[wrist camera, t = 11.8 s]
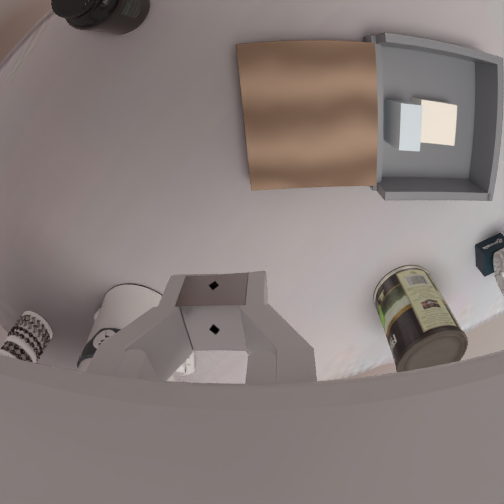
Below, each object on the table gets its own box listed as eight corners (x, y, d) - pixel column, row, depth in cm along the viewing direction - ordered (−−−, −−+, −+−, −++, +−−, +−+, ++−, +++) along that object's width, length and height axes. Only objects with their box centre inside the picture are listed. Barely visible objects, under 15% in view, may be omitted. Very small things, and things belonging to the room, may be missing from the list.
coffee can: (382, 325, 50) (404, 392, 38) (364, 282, 45) (389, 354, 33) (436, 299, 47) (469, 362, 35) (425, 253, 42) (466, 318, 30)
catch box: (469, 183, 36) (492, 200, 31) (366, 182, 37) (380, 200, 32) (476, 56, 27) (503, 58, 22) (363, 37, 28) (380, 32, 23)
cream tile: (419, 142, 31) (410, 137, 33) (454, 145, 30) (444, 140, 33) (421, 99, 28) (412, 97, 30) (457, 105, 28) (447, 102, 30)
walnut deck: (366, 174, 37) (375, 185, 33) (252, 178, 38) (251, 190, 35) (364, 45, 29) (374, 42, 25) (239, 47, 30) (236, 44, 27)
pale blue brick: (383, 139, 33) (402, 141, 33) (398, 150, 29) (419, 151, 29) (384, 98, 31) (404, 100, 31) (401, 103, 27) (422, 105, 26)
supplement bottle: (93, 31, 28) (34, 26, 18) (111, -17, 25) (57, -37, 15) (140, 38, 29) (88, 30, 19) (159, -12, 26) (115, -39, 16)
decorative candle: (58, 329, 56) (5, 425, 34) (48, 346, 60) (2, 432, 38) (25, 302, 53) (-36, 392, 31) (18, 321, 57) (-34, 404, 35)
